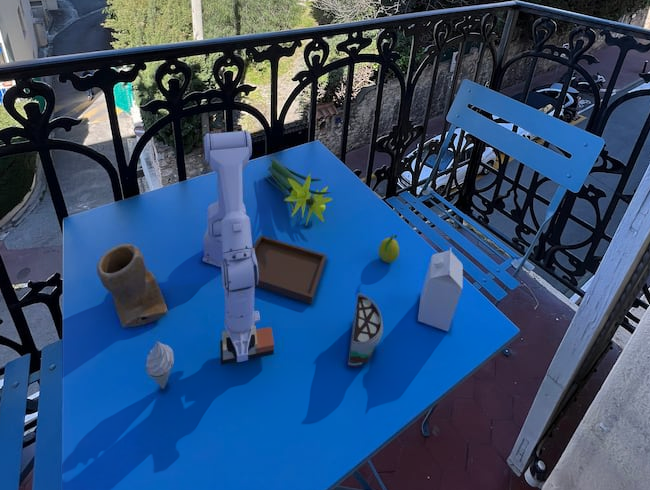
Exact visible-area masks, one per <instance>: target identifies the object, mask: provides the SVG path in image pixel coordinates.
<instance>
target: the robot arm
mask: <svg viewBox="0 0 650 490" xmlns="http://www.w3.org/2000/svg"><path fill="white" fill-rule="evenodd" d="M203 141H204V142H203V145H204V160H205V162H206V163H207V164H209V169H210V170H211V171H213V172H215V173H216V176H217V179H216V180H217V200H216V201H215V202H213V203H211V204H210V205H208V206H207V207H208V208H207V209H206V210H207V214H206V220H207V221H206V222H207V223H206V225H207V228H206V230H205V232H204V236H203V240H202V244H203V245H202V247H203V258H202V262H204V263H207V264H210V265H212V266H215V267H218V268H221V281H222V282H221V284H222V288H223V293H224V318H223V319H224V321H223V322H224V323H223V325H224V328H225V331H227V332H228V335H229V337H228V338H226V346H227V350H228V351H229V352H232V353H233V355H234V358H235V359H236V360H237V362H236V363H240V362H241V363H242V362H245V361H248V360H249V359H248V351H249V350H250V349H251V348H253V347H254V346H255V334H253V335H251V334H252V331H253V327H254V326H255V324H256V323H259V322H260V321H261V316H260V311H259V310H255V291H256V290H255V289H256V286H255V281H256V284H257V285H258V278H259V273H258V264H257V259H256V255H255V250H254V248H253V247H254V245H253V237H252V226H251V218H250V216H249V215H247V210H246V205H245V203H244V198H243V197H244V195H243V194H244V193H243V191H244V190H243V171H244V169H246V167H247V166H248V165H249V161H250V158H251V157H252V153H253V146H252V145H253V144H252V136H251V132H249V130H247V129H244V130H239V131H228V132H217V133H205V135H204V136H203ZM254 276H255V279H254Z"/></svg>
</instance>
